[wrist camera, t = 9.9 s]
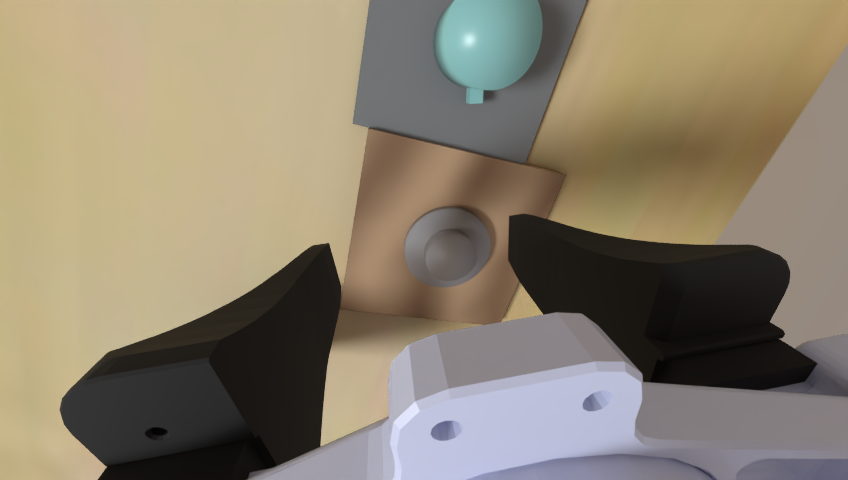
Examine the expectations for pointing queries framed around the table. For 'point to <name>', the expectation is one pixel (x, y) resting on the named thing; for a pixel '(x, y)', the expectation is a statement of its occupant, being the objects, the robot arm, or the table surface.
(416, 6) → the mat
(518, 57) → the teal ovoid with tab
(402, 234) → the post board
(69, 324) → the table surface
